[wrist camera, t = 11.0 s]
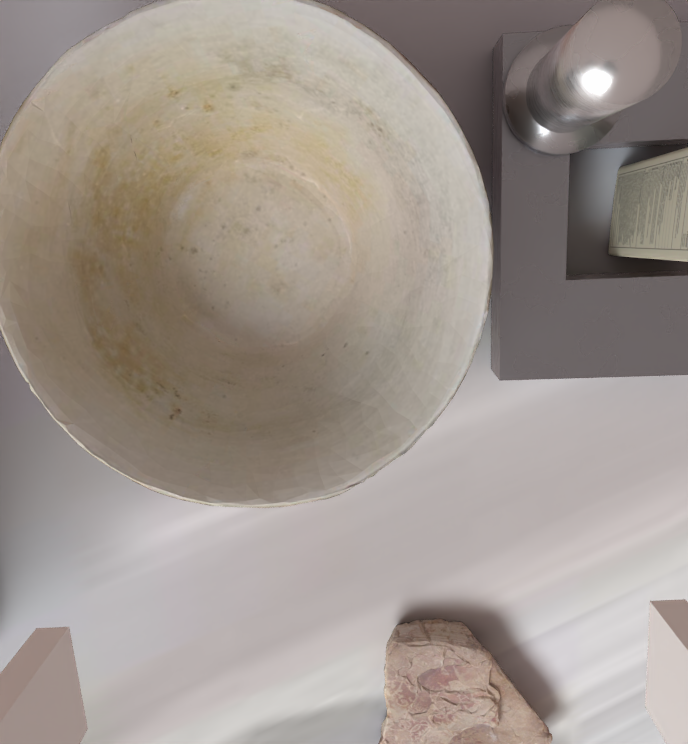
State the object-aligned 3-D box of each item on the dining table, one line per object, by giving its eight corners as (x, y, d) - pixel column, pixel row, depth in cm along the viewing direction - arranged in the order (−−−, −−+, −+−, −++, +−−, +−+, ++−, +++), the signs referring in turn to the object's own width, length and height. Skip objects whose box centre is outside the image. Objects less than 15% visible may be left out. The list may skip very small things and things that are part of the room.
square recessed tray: (490, 368, 39) (499, 380, 37) (493, 49, 35) (503, 33, 32) (797, 359, 38) (832, 370, 35) (836, 27, 34) (879, 9, 31)
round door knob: (492, 163, 37) (543, 136, 25) (493, 49, 35) (547, -36, 24) (600, 157, 36) (703, 128, 25) (605, 42, 35) (716, -48, 23)
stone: (559, 626, 44) (571, 653, 41) (534, 770, 46) (544, 804, 44) (387, 610, 44) (387, 635, 41) (372, 754, 47) (372, 786, 44)
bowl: (554, 273, 38) (613, 291, 28) (267, 517, 43) (233, 604, 33) (279, -51, 35) (239, -155, 25) (2, 250, 40) (-121, 260, 30)
